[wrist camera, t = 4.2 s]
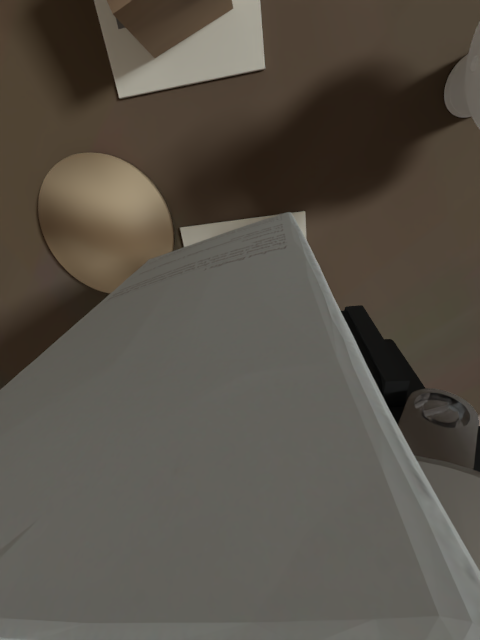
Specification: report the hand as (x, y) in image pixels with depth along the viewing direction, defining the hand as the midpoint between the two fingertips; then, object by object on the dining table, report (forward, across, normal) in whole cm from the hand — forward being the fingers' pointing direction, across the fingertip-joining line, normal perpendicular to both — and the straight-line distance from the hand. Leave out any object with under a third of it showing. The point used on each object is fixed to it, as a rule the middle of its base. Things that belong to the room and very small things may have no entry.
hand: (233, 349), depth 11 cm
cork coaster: (+12, +10, -3) cm, 16 cm away
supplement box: (+4, 0, 0) cm, 4 cm away
